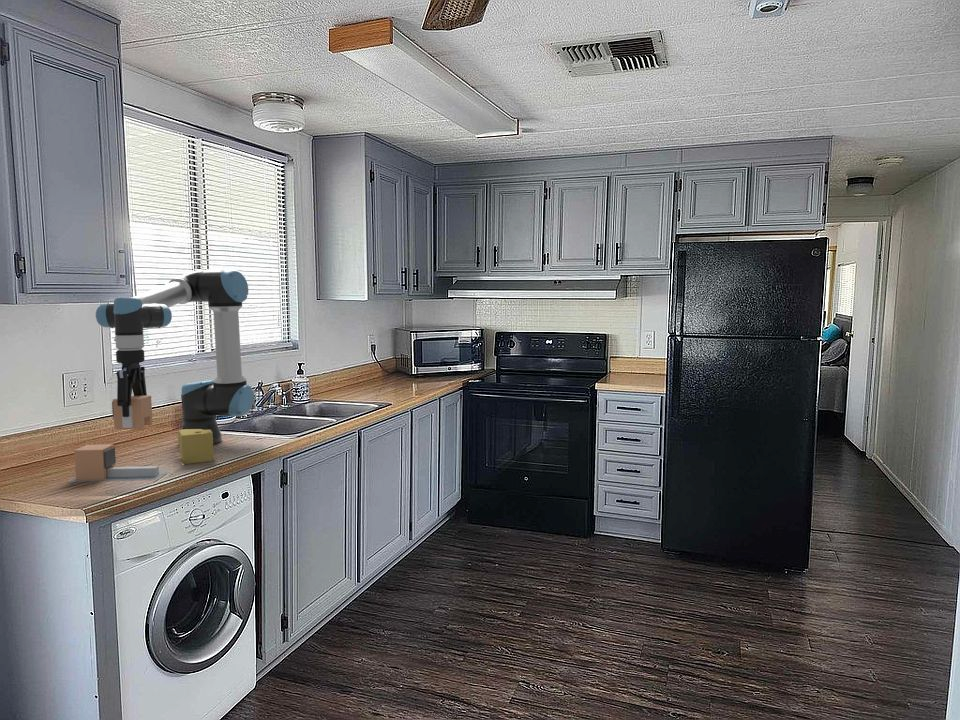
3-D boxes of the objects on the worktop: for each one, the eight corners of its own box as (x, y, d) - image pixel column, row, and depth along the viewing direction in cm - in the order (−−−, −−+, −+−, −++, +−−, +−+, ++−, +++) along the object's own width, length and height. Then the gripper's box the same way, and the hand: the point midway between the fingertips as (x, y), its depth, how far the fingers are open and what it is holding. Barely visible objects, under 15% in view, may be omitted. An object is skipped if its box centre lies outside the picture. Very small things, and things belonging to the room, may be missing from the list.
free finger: (123, 424, 208) (122, 395, 207) (152, 424, 208) (151, 395, 208) (112, 429, 201) (110, 399, 200) (142, 429, 201) (140, 399, 200)
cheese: (211, 455, 237) (210, 426, 236) (215, 461, 227) (213, 432, 226) (179, 458, 232) (177, 429, 231) (181, 465, 223) (179, 435, 222)
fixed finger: (88, 473, 209) (86, 444, 208) (117, 472, 209) (115, 444, 208) (76, 480, 201) (74, 450, 200) (106, 479, 202) (104, 449, 201)
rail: (84, 475, 210) (83, 464, 210) (167, 473, 212) (166, 462, 211) (66, 484, 200) (66, 473, 200) (154, 482, 202) (153, 471, 201)
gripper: (132, 346, 212) (135, 419, 214) (100, 352, 192) (104, 431, 194) (156, 346, 213) (160, 418, 215) (127, 351, 193) (131, 431, 195)
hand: (133, 424), depth 204 cm, fingers closed on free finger, 7 cm apart
